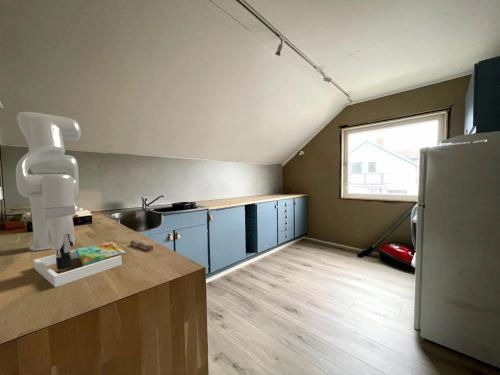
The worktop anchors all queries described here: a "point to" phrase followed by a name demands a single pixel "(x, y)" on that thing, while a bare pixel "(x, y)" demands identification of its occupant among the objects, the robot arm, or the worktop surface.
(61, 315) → the worktop surface
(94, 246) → the puzzle game
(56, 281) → the frame
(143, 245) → the rail
